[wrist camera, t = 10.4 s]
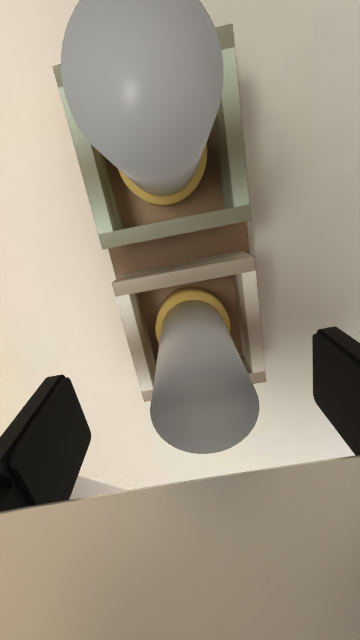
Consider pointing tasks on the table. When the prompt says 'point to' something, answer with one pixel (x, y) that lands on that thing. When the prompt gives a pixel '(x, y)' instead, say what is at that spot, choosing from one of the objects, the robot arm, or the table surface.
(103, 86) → the seated sleeve
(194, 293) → the grey rounded cylinder
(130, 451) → the table surface
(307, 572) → the robot arm
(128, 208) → the socket board
